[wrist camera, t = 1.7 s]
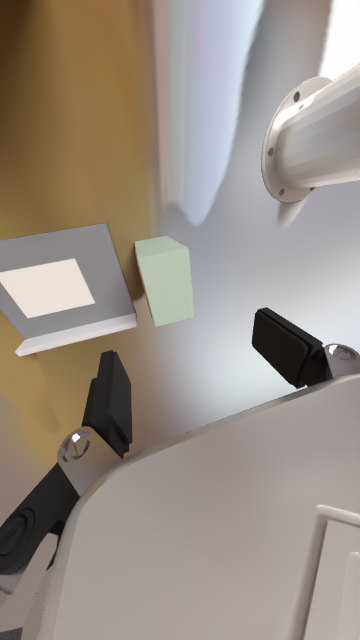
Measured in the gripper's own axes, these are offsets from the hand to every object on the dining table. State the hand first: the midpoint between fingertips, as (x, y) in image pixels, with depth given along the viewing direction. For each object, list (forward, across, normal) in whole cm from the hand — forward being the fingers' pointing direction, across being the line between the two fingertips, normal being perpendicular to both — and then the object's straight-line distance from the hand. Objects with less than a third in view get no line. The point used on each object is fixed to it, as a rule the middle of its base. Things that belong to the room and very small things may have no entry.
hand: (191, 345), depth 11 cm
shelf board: (+21, +14, 0) cm, 25 cm away
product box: (+21, -1, 0) cm, 21 cm away
